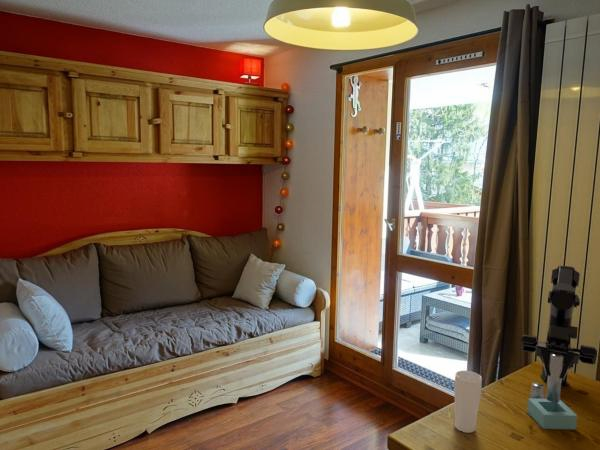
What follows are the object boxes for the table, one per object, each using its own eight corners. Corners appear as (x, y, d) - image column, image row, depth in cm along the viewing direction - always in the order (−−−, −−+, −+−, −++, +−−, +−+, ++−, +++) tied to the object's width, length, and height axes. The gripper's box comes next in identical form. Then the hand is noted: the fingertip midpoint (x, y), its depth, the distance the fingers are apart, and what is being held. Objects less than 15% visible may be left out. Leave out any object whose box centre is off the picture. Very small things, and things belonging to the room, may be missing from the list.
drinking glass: (474, 422, 131) (478, 371, 129) (481, 436, 124) (485, 382, 122) (449, 420, 131) (452, 369, 129) (454, 434, 125) (458, 380, 122)
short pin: (539, 396, 146) (540, 382, 146) (544, 401, 143) (546, 387, 142) (528, 396, 146) (529, 382, 146) (533, 401, 143) (535, 387, 142)
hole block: (557, 411, 137) (559, 398, 137) (575, 429, 128) (577, 415, 128) (527, 411, 137) (528, 398, 137) (542, 428, 128) (544, 414, 128)
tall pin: (552, 395, 134) (556, 352, 132) (562, 401, 131) (566, 356, 129) (542, 397, 133) (547, 353, 131) (553, 403, 130) (557, 358, 128)
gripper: (524, 307, 137) (517, 357, 129) (600, 319, 127) (597, 373, 119) (524, 325, 144) (517, 373, 136) (596, 338, 135) (593, 390, 127)
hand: (554, 377), depth 130 cm, fingers closed on tall pin, 3 cm apart
